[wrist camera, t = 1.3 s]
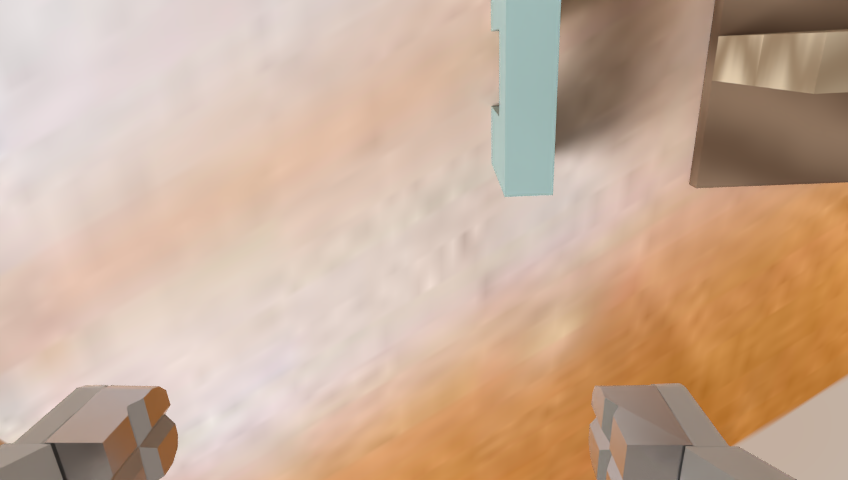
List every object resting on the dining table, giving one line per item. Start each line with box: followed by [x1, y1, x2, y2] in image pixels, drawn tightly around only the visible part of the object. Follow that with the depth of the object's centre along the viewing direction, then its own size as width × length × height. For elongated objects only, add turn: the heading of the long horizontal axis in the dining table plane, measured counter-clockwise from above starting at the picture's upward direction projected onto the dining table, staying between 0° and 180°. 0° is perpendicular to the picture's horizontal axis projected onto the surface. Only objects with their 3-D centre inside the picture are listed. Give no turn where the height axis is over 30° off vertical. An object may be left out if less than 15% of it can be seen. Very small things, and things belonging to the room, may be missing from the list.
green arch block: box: [491, 0, 561, 197], centre depth 28 cm, size 12×2×8 cm, turn 3°
